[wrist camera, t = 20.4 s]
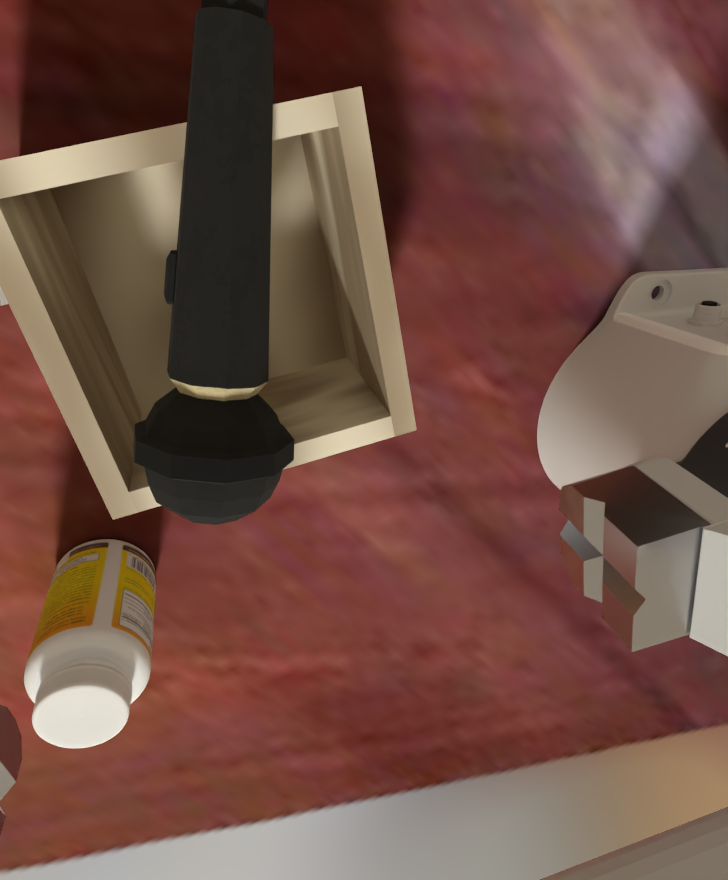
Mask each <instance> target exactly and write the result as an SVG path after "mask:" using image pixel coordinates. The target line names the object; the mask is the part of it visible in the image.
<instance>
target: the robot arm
mask: <svg viewBox="0 0 728 880" xmlns="http://www.w3.org/2000/svg"><path fill="white" fill-rule="evenodd" d="M656 286H659V288H660V290H659V294H658V295H657V296H656V297H655V298H653V299H652V297H651V294H652V291H653V289H654V288H655V287H656ZM537 444H538V452H539V456H540V460H541V463H542V466H543V468H544V470H545V472H546V474H547V475H548V477H549V478H550V480H551V481H552V482H553V483H554V484H555V485H556V486H557V487H558V488H559V489H560V490H561V491H560V494H559V511H560V512H561V513H562V514H563V515H564V516H565V517H566V518H567V519H568V522H567V524H566V525H565V527H564V529H563V530H562V532H561V533H560V546H561V554H562V557H563V560H564V564H565V567H566V570H567V572H568V573H569V575H570V577H571V579H572V580H573V582H574V584H575V585H576V586H577V587H578V589H579V590H580V591H581V592H582V594H583V595H584V596H587V597H589V598H592V599H594V600H597V601H599V602H602V618H603V619H604V620H605V621H606V622H607V624H608V625H609V626H610V627H611V628H612V630H613V631H614V632H615V633H616V634H617V635H618V637H619V638H620V639H621V640H622V641H623V643H624V644H625V645H626V646H627V647H628V648H629V650H630V651H631V652H634V651H637V650H640V649H643V648H647V647H650V646H653V645H656V644H659V643H663V642H666V641H669V640H672V639H676V638H679V637H682V636H685V635H688V634H690V638H692V639H694V640H696V641H698V642H700V643H702V644H704V645H706V646H708V647H710V648H712V649H714V650H716V651H718V652H720V653H722V654H724V655H726V656H728V268H709V269H690V270H670V271H651V272H640V273H636V274H634V275H632V276H631V277H629V278H628V279H627V280H626V281H625V282H624V284H623V285H622V287H621V288H620V289H619V291H618V293H617V294H616V296H615V298H614V300H613V301H612V303H611V305H610V307H609V309H608V311H607V313H606V315H605V317H604V318H603V320H602V321H601V322H600V323H599V325H598V326H597V327H596V328H595V329H594V330H593V331H592V332H591V333H590V334H589V335H588V336H587V337H586V338H585V339H584V340H583V341H582V342H581V343H580V344H579V345H578V346H577V347H576V349H575V350H574V351H573V352H572V353H571V354H570V356H569V357H568V358H567V359H566V361H565V362H564V363H563V365H562V366H561V368H560V369H559V371H558V372H557V374H556V376H555V377H554V379H553V381H552V383H551V385H550V387H549V389H548V391H547V393H546V396H545V398H544V401H543V404H542V408H541V411H540V416H539V421H538V429H537ZM21 761H22V748H21V734H20V731H19V728H18V725H17V722H16V720H15V718H14V717H13V715H12V714H11V712H10V711H9V710H8V708H7V707H5V706H2V705H0V800H1V799H2V798H3V797H4V795H5V794H6V793H7V792H8V791H9V789H10V788H11V787H12V786H13V785H14V783H15V782H16V779H17V776H18V772H19V768H20V764H21ZM5 817H6V816H5V814H4V813H3V811H2V809H1V808H0V834H1V831H2V827H3V824H4V821H5ZM540 880H728V807H726V808H724V809H721V810H719V811H716V812H714V813H711V814H709V815H706V816H703V817H701V818H698V819H696V820H693V821H690V822H688V823H685V824H683V825H680V826H677V827H675V828H672V829H670V830H667V831H664V832H662V833H659V834H657V835H654V836H652V837H649V838H646V839H644V840H641V841H639V842H636V843H634V844H631V845H628V846H626V847H623V848H621V849H618V850H615V851H613V852H610V853H608V854H605V855H602V856H600V857H597V858H595V859H592V860H590V861H587V862H584V863H582V864H580V865H577V866H574V867H571V868H569V869H566V870H564V871H561V872H559V873H556V874H553V875H551V876H548V877H546V878H543V879H540Z"/></svg>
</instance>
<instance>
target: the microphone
mask: <svg viewBox="0 0 728 880" xmlns="http://www.w3.org/2000/svg"><path fill="white" fill-rule="evenodd" d="M267 11H268V0H202V8H199V9H198V10H197V13H196V15H195V26H194V39H193V52H192V64H191V77H190V89H189V102H188V114H187V127H186V140H185V152H184V165H183V177H182V190H181V202H180V215H179V228H178V240H177V250H171V251H170V253H169V255H168V257H167V258H166V269H165V285H164V297H165V300H166V302H167V304H172V316H171V328H170V341H169V353H168V366H167V372H168V375H169V378H170V380H171V381H172V382H173V384H174V385H175V386H176V388H174V389H173V390H171V391H170V392H169V393H167V394H166V395H165V396H163V397H162V398H160V399H159V400H158V401H156V402H155V404H154V405H153V407H152V409H151V411H150V413H149V414H148V416H147V418H146V420H143V421H141V422H138V423H136V424H135V426H134V442H133V448H134V463H136V464H138V465H141V466H143V467H145V472H146V477H147V481H148V485H149V488H150V490H151V492H152V494H153V496H154V499H155V501H156V503H158V504H160V505H162V506H163V507H165V508H167V509H169V510H170V511H172V512H174V513H176V514H178V515H179V516H181V517H183V518H186V519H188V520H190V521H192V522H194V523H203V524H215V525H217V524H222V523H227V522H231V521H236V520H238V519H240V518H242V517H244V516H246V515H248V514H250V513H252V512H254V511H256V510H257V509H258V508H259V507H260V506H261V505H262V504H263V503H265V502H266V501H267V500H268V499H269V498H270V497H271V495H272V493H273V491H274V489H275V487H276V486H277V484H278V482H279V479H280V476H281V473H282V470H283V469H284V468H285V467H286V466H287V465H288V464H290V463H291V462H292V461H293V460H294V438H293V437H292V436H291V434H290V433H289V432H288V431H287V429H286V428H285V427H284V425H282V424H280V421H279V419H278V416H277V414H276V413H275V412H274V410H273V409H272V408H271V407H270V405H269V404H268V403H267V402H266V401H265V400H264V399H263V398H262V397H261V396H260V395H259V394H258V392H259V391H260V390H261V389H262V388H263V387H264V386H265V385H266V384H267V383H268V375H269V313H270V251H271V189H272V127H273V64H274V28H273V27H272V26H271V25H270V24H269V23H268V22H267Z"/></svg>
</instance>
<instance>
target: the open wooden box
mask: <svg viewBox="0 0 728 880" xmlns="http://www.w3.org/2000/svg"><path fill="white" fill-rule="evenodd" d="M186 127H187V122H185V123H180V124H175V125H171V126H166V127H161V128H156V129H151V130H146V131H141V132H136V133H132V134H127V135H122V136H117V137H112V138H107V139H102V140H98V141H93V142H88V143H83V144H78V145H73V146H68V147H63V148H59V149H54V150H49V151H44V152H39V153H34V154H29V155H24V156H20V157H15V158H10V159H5V160H0V287H1V289H2V291H3V293H4V295H5V297H6V299H7V301H8V303H9V305H10V307H11V310H12V312H13V314H14V316H15V318H16V320H17V322H18V324H19V326H20V328H21V330H22V332H23V334H24V337H25V339H26V341H27V343H28V345H29V347H30V349H31V351H32V353H33V355H34V357H35V359H36V361H37V363H38V366H39V368H40V370H41V372H42V374H43V376H44V378H45V380H46V382H47V384H48V386H49V388H50V390H51V393H52V395H53V397H54V399H55V401H56V403H57V405H58V407H59V409H60V411H61V413H62V415H63V417H64V420H65V422H66V424H67V426H68V428H69V430H70V432H71V434H72V436H73V438H74V440H75V442H76V444H77V447H78V449H79V451H80V453H81V455H82V457H83V459H84V461H85V463H86V465H87V467H88V469H89V471H90V474H91V476H92V478H93V480H94V482H95V484H96V486H97V488H98V490H99V492H100V494H101V496H102V498H103V500H104V503H105V505H106V507H107V509H108V511H109V513H110V515H111V517H112V519H113V520H114V519H118V518H121V517H124V516H128V515H131V514H135V513H138V512H141V511H145V510H148V509H151V508H155V507H158V506H162V505H160V504H158V503H156V501H155V499H154V496H153V494H152V492H151V490H150V488H149V485H148V481H147V477H146V472H145V467H143V466H141V465H138V464H136V463H134V448H133V442H134V426H135V424H136V423H138V422H141V421H143V420H146V418H147V416H148V414H149V413H150V411H151V409H152V407H153V405H154V404H155V402H156V401H158V400H159V399H160V398H162V397H163V396H165V395H166V394H167V393H169V392H170V391H171V390H173V389H174V388H176V386H175V385H174V384H173V382H172V381H171V380H170V378H169V375H168V372H167V366H168V353H169V341H170V328H171V316H172V304H167V302H166V300H165V297H164V285H165V269H166V258H167V257H168V255H169V253H170V251H171V250H177V240H178V228H179V215H180V202H181V190H182V177H183V165H184V152H185V140H186ZM258 394H259V395H260V396H261V397H262V398H263V399H264V400H265V401H266V402H267V403H268V404H269V405H270V407H271V408H272V409H273V410H274V412H275V413H276V414H277V416H278V419H279V421H280V424H282V425H284V427H285V428H286V429H287V431H288V432H289V433H290V434H291V436H292V437H293V438H294V460H293V461H292V462H291V463H290V464H288V465H287V466H286V467H285V468H284V469H287V468H290V467H293V466H297V465H300V464H304V463H307V462H310V461H314V460H317V459H320V458H324V457H327V456H331V455H334V454H337V453H341V452H344V451H347V450H351V449H354V448H358V447H361V446H364V445H368V444H371V443H374V442H378V441H381V440H385V439H388V438H391V437H395V436H398V435H401V434H405V433H408V432H412V431H415V430H416V424H415V418H414V411H413V405H412V399H411V393H410V386H409V380H408V374H407V368H406V361H405V355H404V349H403V343H402V336H401V330H400V324H399V318H398V311H397V305H396V299H395V293H394V286H393V280H392V274H391V268H390V261H389V255H388V249H387V243H386V236H385V230H384V224H383V218H382V211H381V205H380V199H379V193H378V186H377V180H376V174H375V168H374V161H373V155H372V149H371V143H370V136H369V130H368V124H367V118H366V112H365V105H364V99H363V93H362V87H361V86H360V87H355V88H351V89H346V90H341V91H336V92H331V93H326V94H321V95H317V96H312V97H307V98H302V99H297V100H292V101H287V102H282V103H278V104H273V127H272V189H271V251H270V313H269V375H268V383H267V384H266V385H265V386H264V387H263V388H262V389H261V390H260V391H259V392H258Z"/></svg>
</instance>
